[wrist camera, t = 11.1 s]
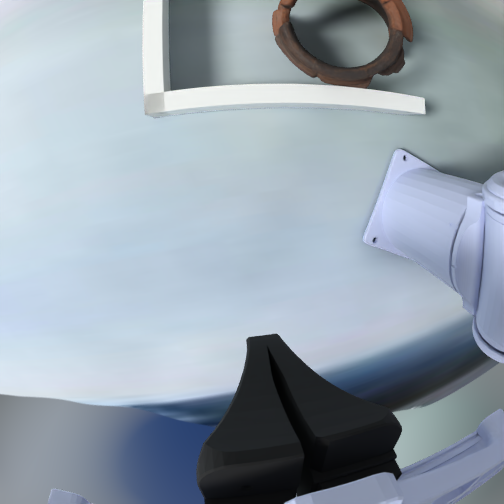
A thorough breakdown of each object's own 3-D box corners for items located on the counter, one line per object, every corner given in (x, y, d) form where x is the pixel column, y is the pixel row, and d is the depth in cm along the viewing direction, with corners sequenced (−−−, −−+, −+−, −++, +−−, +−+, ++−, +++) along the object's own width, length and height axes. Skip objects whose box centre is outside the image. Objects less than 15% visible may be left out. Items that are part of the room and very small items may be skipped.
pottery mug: (404, 86, 20) (424, 101, 13) (292, 81, 23) (265, 93, 16) (392, -42, 12) (405, -78, 6) (277, -42, 15) (243, -74, 9)
